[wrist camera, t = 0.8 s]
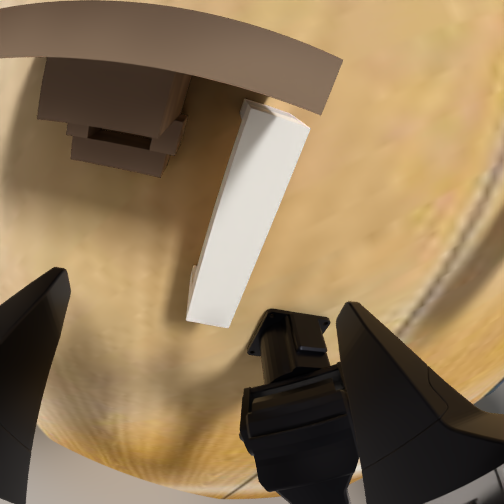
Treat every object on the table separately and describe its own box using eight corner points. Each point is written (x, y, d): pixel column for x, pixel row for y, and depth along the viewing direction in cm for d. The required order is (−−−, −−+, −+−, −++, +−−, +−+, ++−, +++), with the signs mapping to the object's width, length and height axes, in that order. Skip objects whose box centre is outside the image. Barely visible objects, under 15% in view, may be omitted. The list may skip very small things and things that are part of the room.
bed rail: (226, 282, 25) (228, 328, 21) (190, 274, 24) (185, 320, 20) (289, 113, 18) (310, 128, 14) (244, 98, 17) (250, 108, 13)
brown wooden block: (240, 182, 20) (253, 277, 12) (30, 138, 16) (-63, 200, 8) (283, 63, 16) (343, 59, 7) (50, 24, 12) (-55, 23, 4)
